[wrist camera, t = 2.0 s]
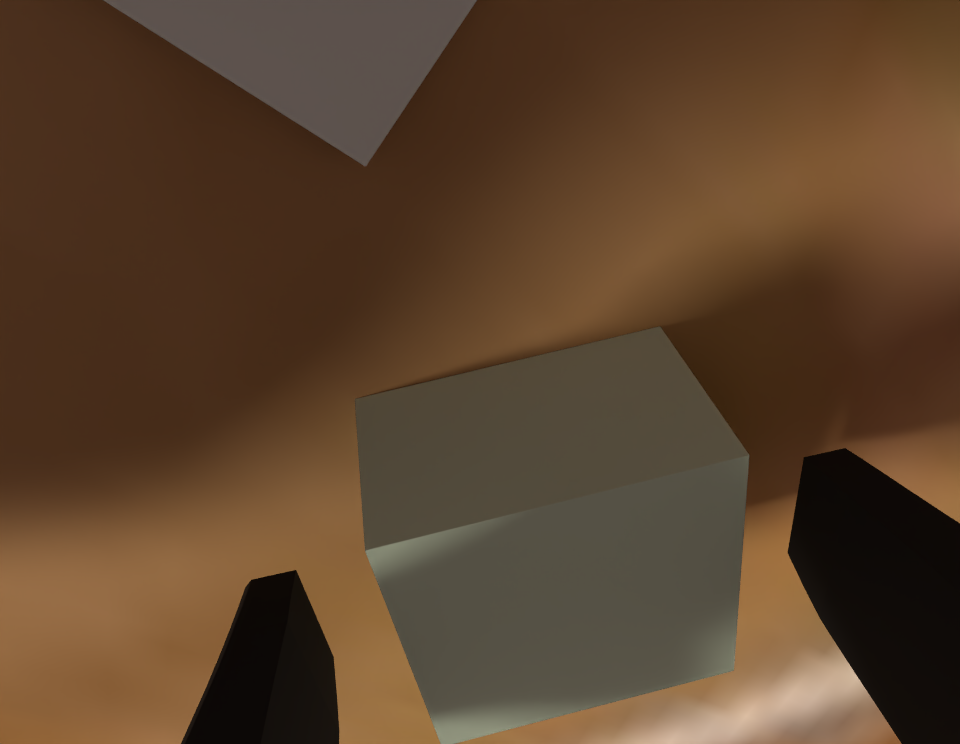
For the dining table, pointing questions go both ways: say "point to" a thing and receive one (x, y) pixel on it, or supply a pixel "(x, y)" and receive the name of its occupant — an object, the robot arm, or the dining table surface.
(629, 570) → the pale green cube
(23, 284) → the dining table surface
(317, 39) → the felt mat
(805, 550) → the robot arm
